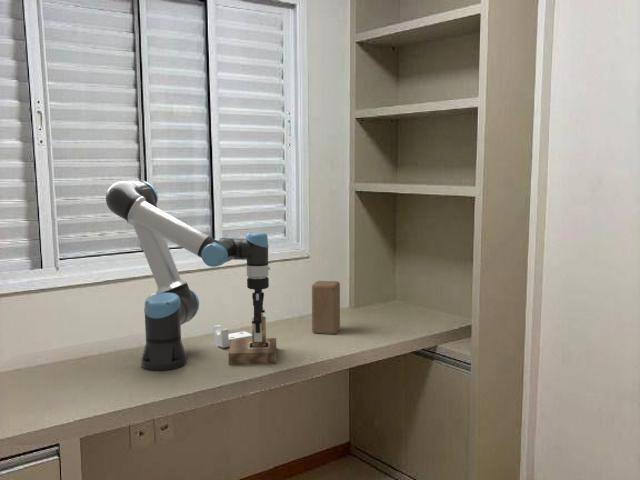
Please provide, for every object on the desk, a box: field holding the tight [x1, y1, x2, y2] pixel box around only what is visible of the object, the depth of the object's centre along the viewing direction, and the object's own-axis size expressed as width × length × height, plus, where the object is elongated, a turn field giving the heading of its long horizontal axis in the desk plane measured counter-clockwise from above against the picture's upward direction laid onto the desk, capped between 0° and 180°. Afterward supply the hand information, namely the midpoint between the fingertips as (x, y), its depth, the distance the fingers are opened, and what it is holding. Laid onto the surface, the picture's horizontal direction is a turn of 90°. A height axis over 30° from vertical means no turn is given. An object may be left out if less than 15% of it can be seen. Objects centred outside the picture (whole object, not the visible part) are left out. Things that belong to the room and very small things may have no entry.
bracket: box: [213, 324, 252, 348], centre depth 236 cm, size 13×7×8 cm, turn 124°
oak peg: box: [251, 315, 267, 348], centre depth 220 cm, size 5×5×14 cm
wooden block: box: [311, 280, 341, 335], centre depth 253 cm, size 10×10×20 cm
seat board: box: [227, 337, 277, 366], centre depth 220 cm, size 16×18×4 cm
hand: (258, 336), depth 220 cm, fingers open, 13 cm apart
